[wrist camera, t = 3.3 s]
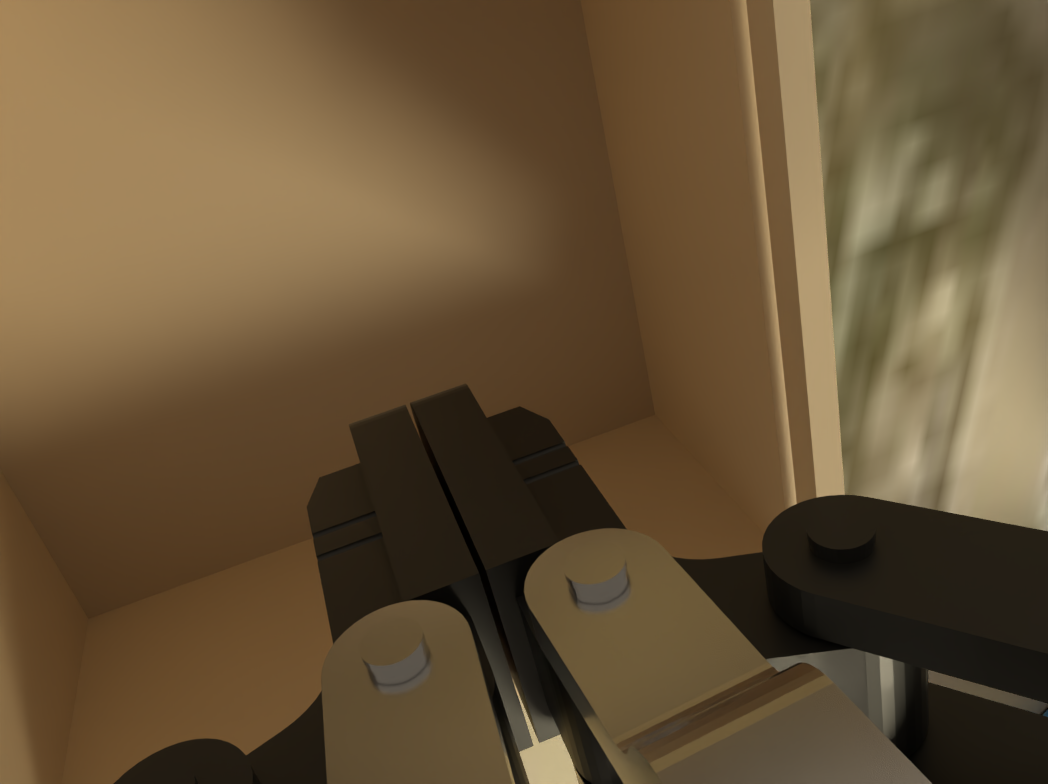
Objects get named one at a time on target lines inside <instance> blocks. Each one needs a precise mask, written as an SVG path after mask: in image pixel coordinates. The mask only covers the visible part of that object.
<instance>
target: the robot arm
mask: <svg viewBox="0 0 1048 784" xmlns="http://www.w3.org/2000/svg"><path fill="white" fill-rule="evenodd" d="M410 406H411V410H412V413H413V417H414V420H415V423H416V426H417V429H418V432H419V434H418V432H417V430H416V428H415V425H414V423H413V421H412V418H411V416H410V414H409V412H408V409H407V407H406V405H402V406H399V407H397V408H394V409H391V410H388V411H385V412H382V413H379V414H376V415H374V416H371V417H368V418H365V419H362V420H359V421H356V422H353V423H350V424H349V428H350V431H351V434H352V438H353V441H354V444H355V447H356V451H357V454H358V457H359V460H360V463H359V464H356V465H353V466H350V467H347V468H344V469H342V470H339V471H336V472H333V473H330V474H328V475H325V476H322V477H319V479H318V482H317V484H316V486H315V489H314V491H313V493H312V496H311V498H310V500H309V502H308V505H307V511H308V516H309V522H310V527H311V532H312V535H313V542H314V548H315V553H316V557H317V560H318V562H317V563H318V568H319V573H320V579H321V584H322V589H323V594H324V599H325V604H326V610H327V615H328V620H329V625H330V630H331V635H332V641H333V646H332V647H331V649H330V650H329V652H328V654H327V656H326V658H325V660H324V664H323V667H322V672H321V688H322V691H321V692H320V694H319V695H318V697H317V698H316V700H315V701H314V702H313V703H312V704H311V705H310V707H309V708H308V709H307V710H306V711H305V712H304V713H303V714H302V715H301V716H300V717H299V718H297V719H296V720H295V721H294V722H293V723H291V724H290V725H289V726H288V727H286V728H285V729H284V730H282V731H281V732H279V733H278V734H276V735H275V736H274V737H272V738H271V739H269V740H268V741H266V742H265V743H263V744H262V745H260V746H259V747H258V748H256V749H255V750H253V751H252V752H250V753H249V754H247V755H245V754H244V753H243V752H242V751H241V750H240V749H239V748H238V747H236V746H235V745H233V744H231V743H229V742H226V741H223V740H219V739H210V738H204V739H193V740H188V741H184V742H180V743H177V744H174V745H171V746H168V747H166V748H164V749H162V750H160V751H157V752H155V753H153V754H151V755H150V756H148V757H147V758H145V759H143V760H142V761H140V762H139V763H137V764H136V765H135V766H133V767H132V768H131V769H129V770H128V771H127V772H125V773H124V774H123V775H122V776H121V777H120V778H119V779H118V780H117V781H116V782H115V783H114V784H529V781H528V778H527V775H526V772H525V769H524V766H523V762H522V759H521V756H520V753H519V752H520V751H522V750H525V749H527V748H529V747H532V746H533V743H532V740H531V736H530V733H529V730H528V727H527V724H526V721H525V717H524V714H523V711H522V708H521V705H520V702H519V698H518V695H517V692H516V689H515V686H516V688H517V691H518V693H519V695H520V698H521V700H522V703H523V705H524V707H525V710H526V712H527V715H528V717H529V719H530V722H531V724H532V726H533V729H534V731H535V734H536V736H537V738H538V741H539V743H540V742H543V741H545V740H548V739H550V738H552V737H555V736H557V735H560V734H561V737H562V739H563V741H564V743H565V745H566V748H567V750H568V752H569V754H570V757H571V759H572V762H573V765H574V769H575V772H576V775H577V779H578V782H579V784H1048V717H1046V716H1043V715H1039V714H1036V713H1032V712H1029V711H1025V710H1022V709H1019V708H1015V707H1012V706H1008V705H1005V704H1001V703H998V702H994V701H991V700H987V699H984V698H981V697H977V696H974V695H970V694H967V693H963V692H960V691H956V690H953V689H949V688H946V687H943V686H939V685H936V684H932V683H929V682H928V670H932V671H935V672H939V673H942V674H946V675H949V676H953V677H956V678H960V679H963V680H967V681H970V682H974V683H978V684H981V685H985V686H988V687H992V688H995V689H999V690H1002V691H1006V692H1009V693H1013V694H1017V695H1020V696H1024V697H1027V698H1031V699H1034V700H1038V701H1041V702H1045V703H1048V531H1043V530H1037V529H1032V528H1027V527H1022V526H1016V525H1011V524H1006V523H1001V522H995V521H990V520H985V519H980V518H974V517H969V516H964V515H959V514H953V513H948V512H943V511H938V510H932V509H927V508H922V507H917V506H911V505H906V504H901V503H895V502H890V501H885V500H880V499H874V498H869V497H863V496H855V495H831V496H823V497H817V498H813V499H809V500H806V501H802V502H800V503H798V504H795V505H793V506H791V507H789V508H788V509H786V510H784V511H783V512H781V513H780V514H779V515H778V516H777V517H775V518H774V519H773V520H772V522H771V523H770V524H769V525H768V527H767V529H766V531H765V533H764V535H763V540H762V552H759V553H751V554H744V555H737V556H730V557H723V558H714V559H685V558H676V557H672V556H671V555H670V554H669V553H668V552H667V551H666V550H665V549H664V547H663V546H661V545H660V544H659V543H658V542H657V541H656V540H654V539H652V538H650V537H649V536H647V535H644V534H642V533H639V532H636V531H631V530H627V529H626V527H625V526H624V524H623V523H622V522H621V520H620V519H619V517H618V516H617V515H616V513H615V512H614V510H613V509H612V507H611V506H610V505H609V503H608V502H607V500H606V499H605V498H604V496H603V495H602V493H601V492H600V491H599V489H598V488H597V486H596V485H595V484H594V482H593V481H592V479H591V478H590V476H589V475H588V474H587V472H586V471H585V469H584V468H583V467H582V465H579V463H578V460H577V458H576V457H575V455H574V454H573V452H572V451H571V450H570V448H569V447H568V446H566V444H565V441H564V440H563V438H562V437H561V436H560V434H559V433H558V431H557V430H556V429H555V427H554V426H553V424H552V423H551V421H550V420H549V419H547V418H545V417H542V416H540V415H538V414H536V413H534V412H531V411H529V410H527V409H525V408H523V407H520V406H519V407H516V408H513V409H510V410H507V411H505V412H502V413H499V414H496V415H493V416H491V417H488V418H487V417H486V416H485V414H484V412H483V411H482V409H481V407H480V406H479V404H478V402H477V400H476V399H475V397H474V395H473V394H472V392H471V390H470V388H469V387H468V385H467V384H462V385H459V386H456V387H454V388H451V389H448V390H445V391H442V392H439V393H436V394H433V395H431V396H428V397H425V398H422V399H419V400H416V401H413V402H410ZM419 435H420V437H419ZM420 438H421V439H420ZM513 681H514V683H513ZM514 684H515V686H514Z"/></svg>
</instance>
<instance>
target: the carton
mask: <svg viewBox="0 0 1048 784" xmlns="http://www.w3.org/2000/svg"><path fill="white" fill-rule="evenodd" d="M462 384H467V385H468V387H469V388H470V390H471V392H472V394H473V395H474V397H475V399H476V400H477V402H478V404H479V406H480V407H481V409H482V411H483V412H484V414H485V416H486V417H487V418H488V417H491V416H493V415H496V414H499V413H502V412H505V411H507V410H510V409H513V408H516V407H519V406H520V407H523V408H525V409H527V410H529V411H531V412H534V413H536V414H538V415H540V416H542V417H545V418H547V419H549V420H550V421H551V423H552V424H553V426H554V427H555V429H556V430H557V431H558V433H559V434H560V436H561V437H562V438H563V440H564V441H565V444H566V446H568V447H569V448H570V450H571V451H572V452H573V454H574V455H575V457H576V458H577V460H578V463H579V465H582V467H583V468H584V469H585V471H586V472H587V474H588V475H589V476H590V478H591V479H592V481H593V482H594V484H595V485H596V486H597V488H598V489H599V491H600V492H601V493H602V495H603V496H604V498H605V499H606V500H607V502H608V503H609V505H610V506H611V507H612V509H613V510H614V512H615V513H616V515H617V516H618V517H619V519H620V520H621V522H622V523H623V524H624V526H625V527H626V529H627V530H631V531H636V532H639V533H642V534H644V535H647V536H649V537H650V538H652V539H654V540H656V541H657V542H658V543H659V544H660V545H661V546H663V547H664V549H665V550H666V551H667V552H668V553H669V554H670V555H671V556H672V557H676V558H685V559H714V558H723V557H730V556H737V555H744V554H751V553H759V552H762V540H763V535H764V533H765V531H766V529H767V527H768V525H769V524H770V523H771V522H772V520H773V519H774V518H775V517H777V516H778V515H779V514H780V513H781V512H783V511H784V510H786V509H788V508H789V507H791V506H793V505H795V504H797V501H796V491H795V481H794V471H793V461H792V451H791V441H790V431H789V421H788V412H787V402H786V392H785V382H784V372H783V362H782V352H781V342H780V332H779V322H778V312H777V303H776V293H775V283H774V273H773V263H772V253H771V243H770V233H769V223H768V213H767V203H766V194H765V184H764V174H763V164H762V154H761V144H760V134H759V124H758V114H757V104H756V95H755V85H754V75H753V65H752V55H751V45H750V35H749V25H748V15H747V5H746V0H0V784H114V783H115V782H116V781H117V780H118V779H119V778H120V777H121V776H122V775H123V774H124V773H125V772H127V771H128V770H129V769H131V768H132V767H133V766H135V765H136V764H137V763H139V762H140V761H142V760H143V759H145V758H147V757H148V756H150V755H151V754H153V753H155V752H157V751H160V750H162V749H164V748H166V747H168V746H171V745H174V744H177V743H180V742H184V741H188V740H193V739H204V738H210V739H219V740H223V741H226V742H229V743H231V744H233V745H235V746H236V747H238V748H239V749H240V750H241V751H242V752H243V753H244V754H245V755H247V754H249V753H250V752H252V751H253V750H255V749H256V748H258V747H259V746H260V745H262V744H263V743H265V742H266V741H268V740H269V739H271V738H272V737H274V736H275V735H276V734H278V733H279V732H281V731H282V730H284V729H285V728H286V727H288V726H289V725H290V724H291V723H293V722H294V721H295V720H296V719H297V718H299V717H300V716H301V715H302V714H303V713H304V712H305V711H306V710H307V709H308V708H309V707H310V705H311V704H312V703H313V702H314V701H315V700H316V698H317V697H318V695H319V694H320V692H321V691H322V688H321V672H322V667H323V664H324V660H325V658H326V656H327V654H328V652H329V650H330V649H331V647H332V646H333V641H332V635H331V630H330V625H329V620H328V615H327V610H326V604H325V599H324V594H323V589H322V584H321V579H320V573H319V568H318V563H317V562H318V560H317V557H316V553H315V548H314V542H313V535H312V532H311V527H310V522H309V516H308V511H307V505H308V502H309V500H310V498H311V496H312V493H313V491H314V489H315V486H316V484H317V482H318V479H319V477H322V476H325V475H328V474H330V473H333V472H336V471H339V470H342V469H344V468H347V467H350V466H353V465H356V464H359V463H360V460H359V457H358V454H357V451H356V447H355V444H354V441H353V438H352V434H351V431H350V428H349V424H350V423H353V422H356V421H359V420H362V419H365V418H368V417H371V416H374V415H376V414H379V413H382V412H385V411H388V410H391V409H394V408H397V407H399V406H402V405H406V407H407V409H408V412H409V414H410V416H411V418H412V421H413V423H414V425H415V428H416V430H417V432H418V429H417V426H416V423H415V420H414V417H413V413H412V410H411V406H410V402H413V401H416V400H419V399H422V398H425V397H428V396H431V395H433V394H436V393H439V392H442V391H445V390H448V389H451V388H454V387H456V386H459V385H462ZM418 434H419V432H418ZM419 437H420V435H419ZM420 439H421V438H420ZM513 683H514V681H513ZM514 686H515V684H514ZM515 689H516V692H517V695H518V696H519V693H518V691H517V688H516V686H515Z"/></svg>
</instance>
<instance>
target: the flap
mask: <svg viewBox="0 0 1048 784" xmlns="http://www.w3.org/2000/svg"><path fill="white" fill-rule="evenodd" d="M746 5H747V15H748V25H749V35H750V45H751V55H752V65H753V75H754V85H755V95H756V104H757V114H758V124H759V134H760V144H761V154H762V164H763V174H764V184H765V194H766V203H767V213H768V223H769V233H770V243H771V253H772V263H773V273H774V283H775V293H776V303H777V312H778V322H779V332H780V342H781V352H782V362H783V372H784V382H785V392H786V402H787V412H788V421H789V431H790V441H791V451H792V461H793V471H794V481H795V491H796V501H797V504H798V503H800V502H802V501H806V500H809V499H813V498H817V497H823V496H831V495H845V492H844V478H843V464H842V449H841V435H840V421H839V407H838V393H837V378H836V364H835V350H834V336H833V321H832V307H831V293H830V279H829V264H828V250H827V236H826V222H825V208H824V193H823V179H822V165H821V151H820V136H819V122H818V108H817V94H816V80H815V65H814V51H813V37H812V23H811V8H810V0H746Z"/></svg>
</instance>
